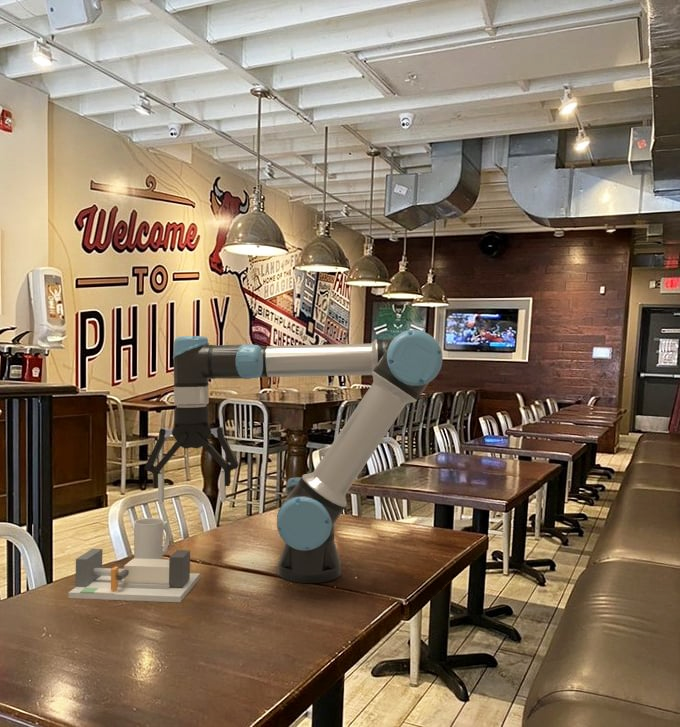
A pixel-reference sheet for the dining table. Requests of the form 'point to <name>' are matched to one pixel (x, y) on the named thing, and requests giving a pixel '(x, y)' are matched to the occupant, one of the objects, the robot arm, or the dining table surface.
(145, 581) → the beige and grey block
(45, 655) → the dining table surface
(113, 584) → the needle
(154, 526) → the mug
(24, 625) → the dining table surface
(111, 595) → the base
